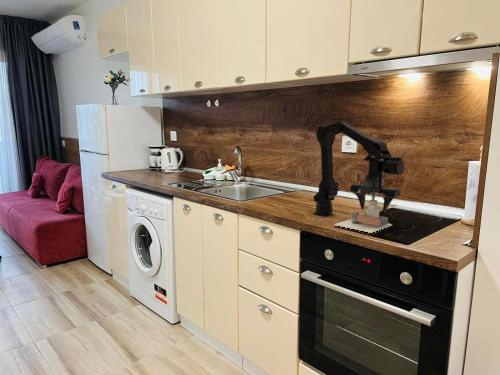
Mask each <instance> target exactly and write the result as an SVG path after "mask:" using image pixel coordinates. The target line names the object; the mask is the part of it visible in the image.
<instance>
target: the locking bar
mask: <svg viewBox="0 0 500 375" xmlns="http://www.w3.org/2000/svg"><path fill="white" fill-rule="evenodd" d="M364 215H365V214H360V212H358V211H353V212H352V215H351V216H352V218H351V219H352V223H353V224H358V222H363V223H368V224H372V225H377V226H380V221H381V219H379V218H374V217H369V216H364Z"/></svg>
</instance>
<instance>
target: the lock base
mask: <svg viewBox="0 0 500 375" xmlns="http://www.w3.org/2000/svg"><path fill="white" fill-rule="evenodd" d="M363 215H364V216H366V214H363ZM379 219H381V221H380V226H377V225H370V224H368V223H363V222H358V224H353V223H352V218H349V219H346V220H343V221H339V222H337V223H334V227H338V226H340V227H339V228H342V227H345V228H344V229H347V228H350V229H349V230H351V229H355V230H359V231H358V232H360V231H364V232H368V233H367V234H369V233H373V232H375V233H377V232H376V231H378V232H380V231H382V230H381V229H383V230H385V229H388V228H389V227H392V226H393V224H391V223H389V217H386V216H380V215H379ZM384 228H385V229H384ZM355 230H354V231H355ZM379 230H380V231H379ZM364 232H363V233H364ZM373 234H374V233H373Z"/></svg>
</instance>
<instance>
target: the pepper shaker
mask: <svg viewBox="0 0 500 375" xmlns="http://www.w3.org/2000/svg"><path fill="white" fill-rule="evenodd" d="M378 203H379V202H378V200H375V199H374V200H372V199H369V200H368V207H369V208H367V209H365V215H366V216H369V217H374V218H379V216H380V210H379V209H378V208H379V207H378ZM370 225H372V224H370Z"/></svg>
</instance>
